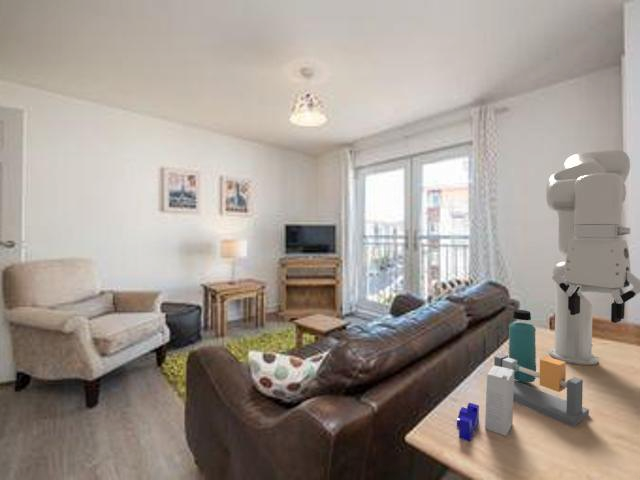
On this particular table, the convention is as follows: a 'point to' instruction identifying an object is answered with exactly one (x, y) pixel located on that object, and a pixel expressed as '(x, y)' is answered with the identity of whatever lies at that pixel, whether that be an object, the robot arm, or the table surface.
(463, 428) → the cable holder
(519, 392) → the rail
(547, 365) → the orange rectangular block
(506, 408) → the skincare box
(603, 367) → the table surface
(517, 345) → the beverage bottle
